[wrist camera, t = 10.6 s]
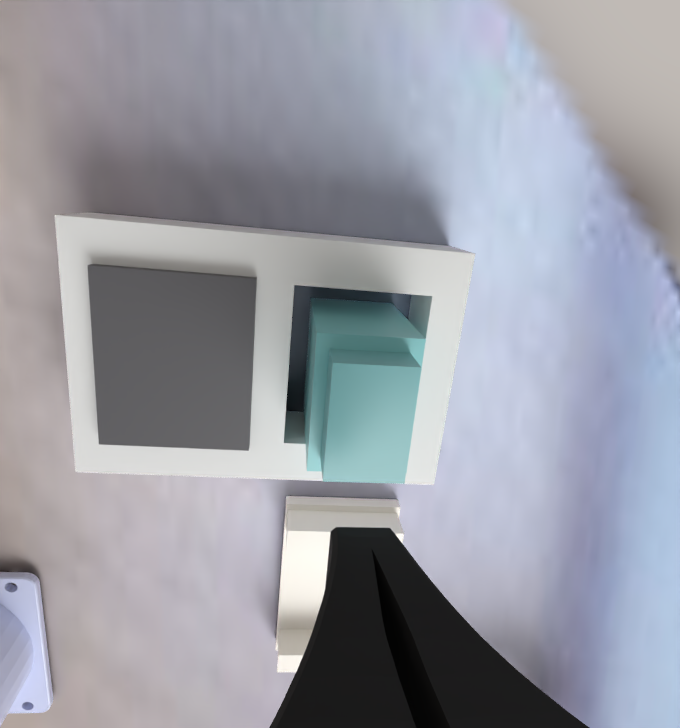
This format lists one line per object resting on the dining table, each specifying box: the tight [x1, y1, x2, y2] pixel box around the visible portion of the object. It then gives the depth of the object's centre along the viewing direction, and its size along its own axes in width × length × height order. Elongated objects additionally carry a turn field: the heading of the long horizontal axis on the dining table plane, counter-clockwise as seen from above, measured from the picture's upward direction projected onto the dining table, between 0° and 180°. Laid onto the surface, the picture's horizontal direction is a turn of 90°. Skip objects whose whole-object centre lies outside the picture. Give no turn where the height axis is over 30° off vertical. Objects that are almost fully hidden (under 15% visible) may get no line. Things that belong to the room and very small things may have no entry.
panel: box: [54, 212, 475, 485], centre depth 18 cm, size 13×9×3 cm
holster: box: [276, 496, 404, 672], centre depth 22 cm, size 5×8×2 cm, turn 174°
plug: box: [304, 298, 426, 484], centre depth 17 cm, size 3×4×6 cm
